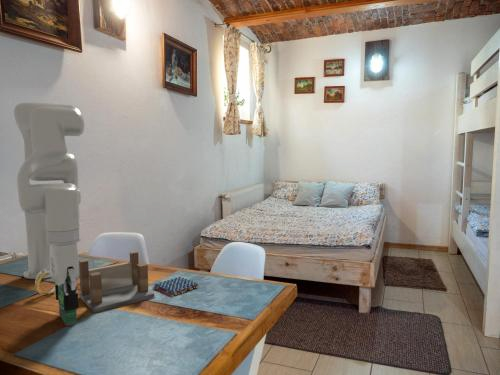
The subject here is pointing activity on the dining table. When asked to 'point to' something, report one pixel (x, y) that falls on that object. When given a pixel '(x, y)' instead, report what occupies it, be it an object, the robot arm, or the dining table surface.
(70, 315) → the coffee box
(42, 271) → the bracelet
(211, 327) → the dining table surface
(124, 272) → the wooden block stand
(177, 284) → the woven mat
